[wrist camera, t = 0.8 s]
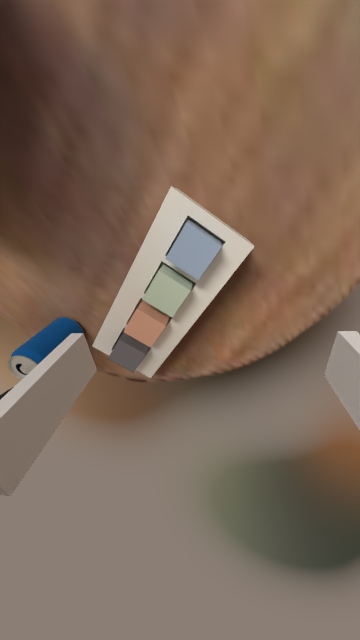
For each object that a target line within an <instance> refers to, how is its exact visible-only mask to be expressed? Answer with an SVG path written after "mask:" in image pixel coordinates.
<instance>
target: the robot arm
mask: <svg viewBox="0 0 360 640" xmlns="http://www.w3.org/2000/svg"><path fill="white" fill-rule="evenodd" d="M96 371H97V368H96V366H95V363H94V360H93V358H92V355H91V352H90V350H89V347H88V344H87V341H86V339H85V336H84V333H71V334H70V335H69V336H68V337H67V338H66V339H65V340H64V341H63V342H62V343H61V344H59V345H58V346H57V347H56V348H55V349H54V350H53V351H52V352H51V353H50V354H49V355H48V356H47V357H46V358H44V359H43V360H42V361H41V362H40V363H39V364H38V365H37V366H36V367H35V368H34V369H33V370H32V371H31V372H30V373H28V374H27V375H26V376H25V377H24V378H23V379H22V380H21V381H20V382H19V383H18V384H17V385H16V386H15V387H12V388H11V389H9V390H8V391H6V392H5V393H3V394H2V395H0V495H5V496H11V495H12V493H13V492H14V490H15V489H16V487H17V486H18V484H19V483H20V481H21V480H22V478H23V477H24V476H25V474H26V473H27V471H28V470H29V468H30V467H31V465H32V464H33V463H34V461H35V460H36V458H37V457H38V455H39V454H40V452H41V451H42V449H43V448H44V447H45V445H46V444H47V442H48V441H49V439H50V438H51V436H52V435H53V433H54V432H55V430H56V429H57V428H58V426H59V425H60V423H61V422H62V420H63V419H64V417H65V416H66V414H67V413H68V411H69V410H70V408H71V407H72V406H73V404H74V403H75V401H76V400H77V398H78V397H79V396H80V394H81V393H82V391H83V390H84V388H85V387H86V385H87V384H88V382H89V381H90V379H91V378H92V376H93V375H94V374H95V372H96ZM324 376H325V377H326V379H327V380H328V382H329V383H330V385H331V386H332V388H333V390H334V391H335V393H336V394H337V396H338V397H339V399H340V401H341V402H342V404H343V405H344V407H345V408H346V410H347V412H348V413H349V415H350V416H351V418H352V419H353V421H354V422H355V424H356V426H357V427H358V429H359V430H360V334H359V333H358V332H356V331H338V332H337V336H336V339H335V342H334V345H333V349H332V352H331V355H330V358H329V362H328V365H327V368H326V371H325V375H324Z"/></svg>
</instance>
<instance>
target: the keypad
mask: <svg viewBox="0 0 360 640" xmlns="http://www.w3.org/2000/svg"><path fill="white" fill-rule="evenodd" d="M189 220H190V221H192V222H193V223H194V224H196V225H197V226H199V227H200V228H201V229H203V230H204V231H206V232H207V233H209V234H210V235H211V236H213V237H214V238H216V239H217V240H219V241H220V242H221V244H222V248H221V249H220V250H219V252H218V253H217V255H216V256H215V258H214V259H213V260H212V262H211V263H210V265H209V266H208V267H207V269H206V270H205V272H204V273H203V275H202V276H201V277H200V279H199V280H197V279H195V278H194V277H192V276H191V275H189V274H188V273H186V272H185V271H183V270H182V269H180V268H179V267H177V266H175V265H174V264H172V263H171V262H169V261H168V260H166V257H167V255H168V253H169V252H170V250H171V248H172V247H173V245H174V243H175V241H176V240H177V238H178V236H179V234H180V233H181V231H182V229H183V227H184V226H185V224H186V222H187V221H189ZM253 248H254V245H253V244H252V243H251V242H250V241H249V240H248V239H246V238H245V237H244V236H242V235H241V234H239V233H238V232H237V231H235V230H234V229H233V228H231V227H230V226H228V225H227V224H226V223H224V222H223V221H222V220H220V219H219V218H217V217H216V216H215V215H213V214H212V213H210V212H209V211H208V210H206V209H205V208H204V207H202V206H201V205H199V204H198V203H197V202H195V201H194V200H193V199H191V198H190V197H188V196H187V195H186V194H184V193H183V192H182V191H180V190H179V189H177V188H174V187H172V186H171V188H170V190H169V192H168V194H167V196H166V198H165V200H164V202H163V204H162V206H161V208H160V210H159V212H158V214H157V216H156V218H155V220H154V222H153V224H152V226H151V228H150V230H149V232H148V234H147V236H146V238H145V240H144V242H143V244H142V246H141V248H140V250H139V252H138V254H137V256H136V258H135V260H134V262H133V264H132V266H131V268H130V270H129V272H128V274H127V276H126V278H125V281H124V283H123V285H122V287H121V289H120V291H119V293H118V295H117V297H116V299H115V301H114V303H113V305H112V307H111V309H110V311H109V313H108V315H107V317H106V319H105V321H104V323H103V325H102V327H101V329H100V331H99V333H98V335H97V337H96V339H95V341H94V343H93V345H92V347H94V348H96V349H98V350H100V351H102V352H103V353H105V354H107V355H109V356H110V354H111V352H112V351H113V349H114V347H115V345H116V344H117V342H118V340H119V339H120V337H121V336H122V334H123V333H124V330H125V328H126V326H127V325H128V323H129V321H130V319H131V318H132V316H133V314H134V312H135V311H136V309H137V308H138V306H139V305H140V303H141V302H142V301H143V300H142V299H143V297H144V295H145V293H146V292H147V290H148V288H149V286H150V285H151V283H152V281H153V280H154V278H155V276H156V274H157V273H158V271H159V269H160V268H161V267H162V266H163V264H164V265H166V266H167V267H169V268H170V269H172V270H173V271H175V272H176V273H178V274H179V275H181V276H182V277H184V278H186V279H187V280H189V281H190V282H192V283H193V284H192V288H191V292H190V293H189V294H188V296H187V297H186V299H185V300H184V301H183V303H182V304H181V306H180V307H179V309H178V310H177V311H176V313H175V314H174V316H173V317H169V320H168V322H167V325H166V327H165V328H164V330H163V331H162V333H161V334H160V335H159V337H158V338H157V340H156V341H155V343H154V344H153V345H152V347H151V348H150V347H149V349H148V351H147V353H146V355H145V357H144V358H143V360H142V361H141V362H140V364H139V365H138V367H137V368H136V370H137V371H138V372H140V373H142V374H144V375H146V376H148V377H149V378H151V377H152V376H153V375H154V373H155V372H156V371H157V369H158V368H159V367H160V366H161V364H162V363H163V362H164V361H165V359H166V358H167V357H168V356H169V354H170V353H171V352H172V350H173V349H174V348H175V347H176V345H177V344H178V343H179V342H180V340H181V339H182V338H183V337H184V335H185V334H186V333H187V331H188V330H189V329H190V328H191V326H192V325H193V324H194V323H195V321H196V320H197V319H198V318H199V316H200V315H201V314H202V312H203V311H204V310H205V309H206V307H207V306H208V305H209V304H210V302H211V301H212V300H213V299H214V297H215V296H216V295H217V293H218V292H219V291H220V290H221V288H222V287H223V286H224V285H225V283H226V282H227V281H228V280H229V278H230V277H231V276H232V274H233V273H234V272H235V271H236V269H237V268H238V267H239V266H240V264H241V263H242V262H243V260H244V259H245V258H246V257H247V255H248V254H249V253H250V252H251V250H252V249H253Z"/></svg>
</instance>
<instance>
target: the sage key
mask: <svg viewBox="0 0 360 640" xmlns="http://www.w3.org/2000/svg"><path fill="white" fill-rule="evenodd" d="M192 284H193V283H192V282H190V281H189V280H187V279H186V278H184V277H182V276H181V275H179V274H178V273H176V272H175V271H173V270H172V269H170V268H169V267H167V266H166V265H164V264H163V266H162V267H161V268H160V269H159V271H158V273H157V274H156V276H155V278H154V280H153V281H152V283H151V285H150V286H149V288H148V290H147V292H146V293H145V295H144V297H143V299H142V300H144V301H145V302H147V303H149V304H150V305H152V306H154V307H155V308H157V309H159V310H160V311H162V312H164V313H165V314H167V315H169V316H170V317H173V316H174V314H175V313H176V311H177V310H178V309H179V307H180V306H181V304H182V303H183V301H184V300H185V299H186V297H187V296H188V294H189V293H190V292H191V288H192Z"/></svg>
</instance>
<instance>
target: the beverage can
mask: <svg viewBox="0 0 360 640" xmlns="http://www.w3.org/2000/svg"><path fill="white" fill-rule="evenodd" d="M71 333H84V332H83V329H82V328H81V326H80V325H79V324H78V323H77V322H75V321H74V320H72V319H69V318H65V317H62V318H58V319H56V320H55V321H54V322H52V323H51V324H50V325H48V326H47V327H46V328H44V329H43V330H42V331H40V332H39V333H38V334H36V335H35V336H34V337H32V338H31V339H30V340H28V341H27V342H26V343H24V344H23V345H22V346H20V347H19V348H18V349H16V350H15V351H14V352H13V353H12V355H11V358H10V359H9V360H8V368H9V370H10V371H11V373H12V374H13V375H14V376H15V377H17V378H18V379H19V380H22V379H23V378H24V377H25V376H26V375H27V374H28V373H30V372H31V371H32V370H33V369H34V368H35V367H36V366H37V365H38V364H39V363H40V362H41V361H42V360H43V359H44V358H46V357H47V356H48V355H49V354H50V353H51V352H52V351H53V350H54V349H55V348H56V347H57V346H58V345H59V344H61V343H62V342H63V341H64V340H65V339H66V338H67V337H68V336H69V335H70V334H71Z"/></svg>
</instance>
